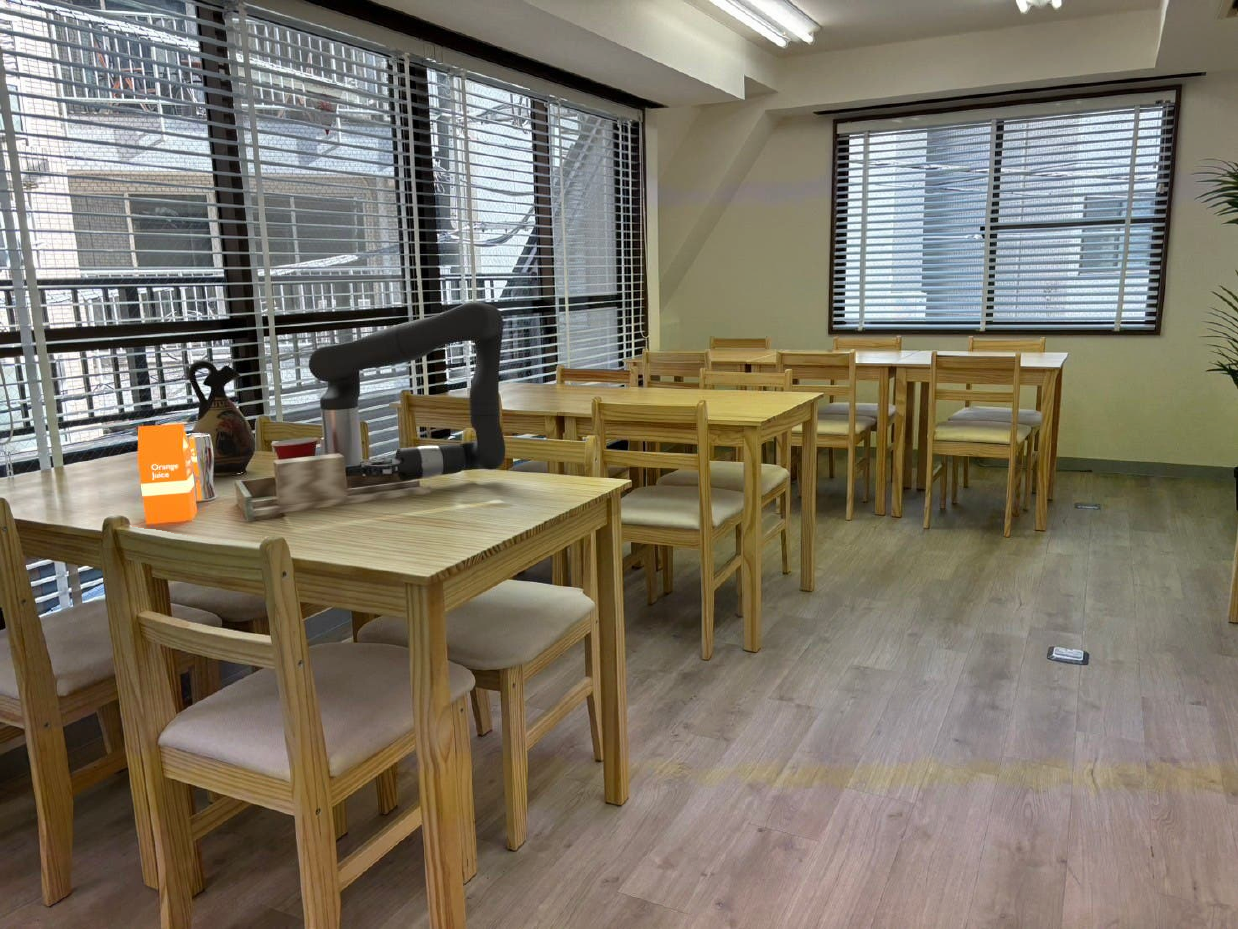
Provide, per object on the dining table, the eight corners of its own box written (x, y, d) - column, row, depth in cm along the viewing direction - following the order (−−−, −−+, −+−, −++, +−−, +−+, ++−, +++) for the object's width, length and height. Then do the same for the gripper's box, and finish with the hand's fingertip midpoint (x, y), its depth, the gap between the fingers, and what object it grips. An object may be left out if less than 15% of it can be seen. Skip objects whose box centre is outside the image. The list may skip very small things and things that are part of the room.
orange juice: (192, 520, 191) (180, 426, 187) (145, 524, 189) (133, 429, 185) (197, 511, 198) (186, 421, 195) (153, 515, 196) (141, 424, 192)
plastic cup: (304, 481, 227) (300, 434, 225) (332, 485, 221) (327, 437, 219) (266, 490, 219) (261, 440, 216) (293, 494, 212) (288, 444, 210)
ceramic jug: (252, 465, 251) (240, 356, 246) (262, 474, 238) (250, 359, 233) (185, 473, 243) (171, 360, 237) (192, 482, 230) (177, 364, 224)
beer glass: (212, 494, 216) (204, 431, 213) (223, 498, 211) (216, 434, 208) (181, 499, 211) (173, 435, 208) (192, 504, 206) (184, 438, 203)
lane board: (247, 521, 189) (245, 496, 188) (237, 503, 205) (234, 480, 204) (432, 496, 207) (430, 474, 206) (408, 481, 223) (407, 460, 222)
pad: (252, 506, 199) (252, 504, 199) (248, 500, 205) (248, 498, 205) (290, 501, 202) (290, 499, 202) (285, 495, 208) (285, 494, 208)
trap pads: (304, 499, 204) (304, 498, 204) (299, 493, 210) (299, 492, 210) (393, 488, 213) (393, 486, 213) (385, 482, 219) (385, 481, 219)
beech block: (281, 509, 194) (276, 464, 192) (277, 505, 199) (273, 460, 197) (348, 501, 201) (344, 456, 199) (343, 496, 205) (339, 453, 203)
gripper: (410, 442, 215) (335, 450, 207) (426, 450, 203) (348, 459, 195) (412, 473, 216) (338, 483, 208) (429, 483, 205) (351, 493, 197)
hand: (343, 471), depth 202 cm, fingers closed
